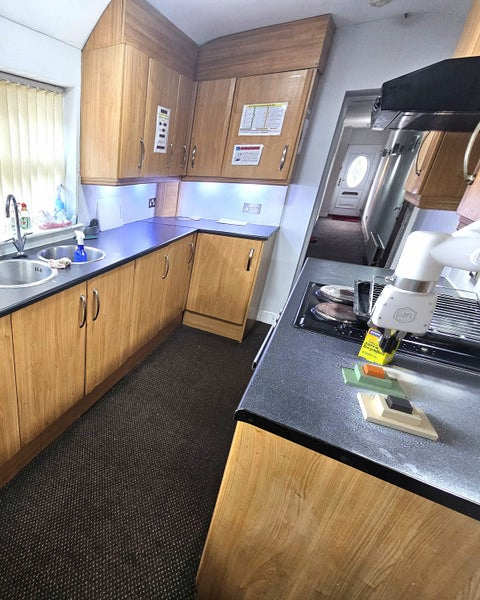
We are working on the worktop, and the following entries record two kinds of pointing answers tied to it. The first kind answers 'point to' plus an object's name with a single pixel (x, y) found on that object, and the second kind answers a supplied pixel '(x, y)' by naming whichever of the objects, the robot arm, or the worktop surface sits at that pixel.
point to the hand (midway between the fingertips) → (385, 351)
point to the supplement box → (375, 348)
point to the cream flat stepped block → (396, 416)
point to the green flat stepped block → (371, 381)
